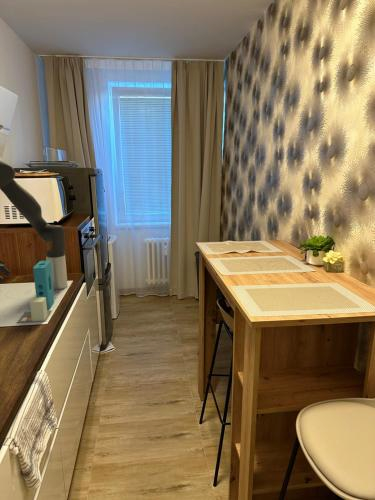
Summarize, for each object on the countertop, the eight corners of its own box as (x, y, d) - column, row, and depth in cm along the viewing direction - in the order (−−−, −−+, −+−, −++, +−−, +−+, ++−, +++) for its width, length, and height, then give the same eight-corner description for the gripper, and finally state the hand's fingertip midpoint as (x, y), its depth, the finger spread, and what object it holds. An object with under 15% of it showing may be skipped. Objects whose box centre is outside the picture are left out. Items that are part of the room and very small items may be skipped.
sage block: (35, 316, 150) (33, 297, 148) (47, 315, 151) (45, 297, 149) (31, 321, 145) (29, 302, 143) (44, 320, 146) (42, 301, 144)
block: (48, 310, 156) (44, 267, 151) (37, 311, 155) (32, 268, 151) (55, 300, 168) (51, 260, 163) (44, 301, 167) (39, 260, 162)
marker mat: (24, 312, 155) (24, 311, 155) (52, 310, 156) (51, 310, 156) (16, 323, 144) (16, 322, 144) (45, 321, 146) (45, 321, 146)
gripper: (-31, 248, 131) (5, 276, 135) (-15, 240, 144) (17, 266, 149) (-44, 262, 131) (-8, 290, 135) (-27, 253, 145) (6, 278, 149)
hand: (5, 277), depth 142 cm, fingers open, 8 cm apart
